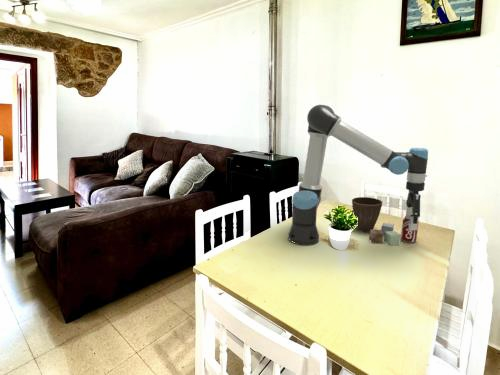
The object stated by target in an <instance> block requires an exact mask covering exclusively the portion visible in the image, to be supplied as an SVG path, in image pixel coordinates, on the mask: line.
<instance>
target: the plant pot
mask: <svg viewBox="0 0 500 375" xmlns="http://www.w3.org/2000/svg"><path fill="white" fill-rule="evenodd" d="M351 204H352V206H351V207H352V213H354V214H353V216H354V215H355V216H357V217H358V226H356V228H357V230H358V231H360V232H364V233H370V229H371V230H374V228H375V225H376V223H377V221H378V219H379V216H380V214H381V212H382V211H381V210H382V206H383V201H382V200H380V199H378V198H374V197H366V196H359V197H358V196H357V197H353V198H352V199H351Z"/></svg>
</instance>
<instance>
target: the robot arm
mask: <svg viewBox="0 0 500 375" xmlns="http://www.w3.org/2000/svg"><path fill="white" fill-rule="evenodd" d="M306 118H307V123H308V126H307V133H308V135H309V140H308V145H307V146H308V147H307V151H306V152H307V153H306V160H305V166H304V173H303V177H302V178H303V180H302V182H300V183H299V186H298V191H296V192H294V193H293V195H292V210H291V211H292V212H291V213H292V214H291V215H292V216H291V217H292V218H291V226H290V228H289V230H288V235H287V239H288V238H289V239H290V240H291V241H293V242H295V243H298V244H297V245H299V244H312V245H315V244H314V243H316V244H317V243H318V242H319V241H320V234H319V230H318V227H317V214H318V213H317V212H318V208H319V206H320V203H321V201H322V190H323V186H322V185H321V179H322V173H323V167H324V166H323V165H324V161H325V156H326V148H327V145H328V144H327V142H328V138H330V137H333V138H335V139H337V140H338V141H340V142H341V143H343V144H345V145H347V146H348V147H350V148H351V149H353V150H355V151H356V152H358V153H360V154H362V155H363V156H366V157H367V158H369V159H371V160H372V161H373V162H375V163H377V164H379V165H380V167H381V168H384V169H387V170H388V171H390V172H391V173H392V174H394V175H397V176H399V175H403V174H405V173H406V174H407V175H406V182H405V183H406V184H405V189H406V190H408V193H407V198H406V202H405V205H406V211H405V216H412V217H411V227H410V230H417V227H418V228H419V224H418V221H419V218H420V217H421V197H422V196H421V194H419V192H422V191H424V190H425V186H426V184H425V182H426V177H427V176H428V175H427V167H428V160H429V150H428V149H427V148H425V147H411V148H410V149H409V151H407V152H406V151H405V152H403V151H402V152H400V151H398V152H397V151H393V150H392V149H391V148H389V147H387V146H385V145H383V144H382V143H380V142H378V141H377V140H375V139H373V138H371V137H370V136H368V135H367V134H365V133H363V132H362V131H360V130H358V129H357V128H355V127H353V126H351V125H350V124H347V123H346V122H345V121H343V120H342V118H341V117H340V116H339V115H337V114H336V113H335V111H334V110H333V108H332V107H331V106H329V105H325V104H317V105H314V106H313V107H312V108H310V109H309V111H308V113H307V117H306ZM289 239H288V240H289ZM291 241H290V242H291ZM295 243H294V244H295Z"/></svg>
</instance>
